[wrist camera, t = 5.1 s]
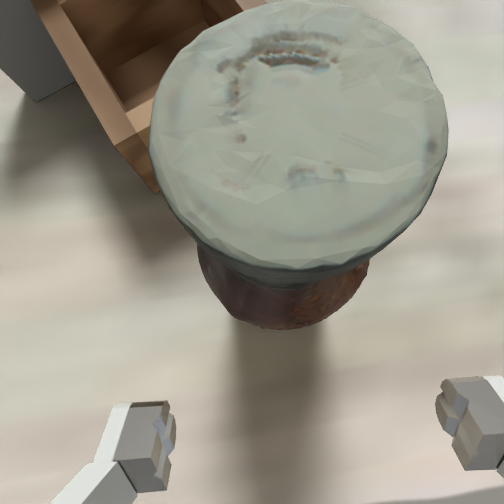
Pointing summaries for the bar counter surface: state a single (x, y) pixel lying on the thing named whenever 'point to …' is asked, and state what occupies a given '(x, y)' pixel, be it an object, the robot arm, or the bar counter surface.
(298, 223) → the sauce bottle
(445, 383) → the robot arm
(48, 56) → the backstop wall
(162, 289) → the bar counter surface
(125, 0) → the wooden box
